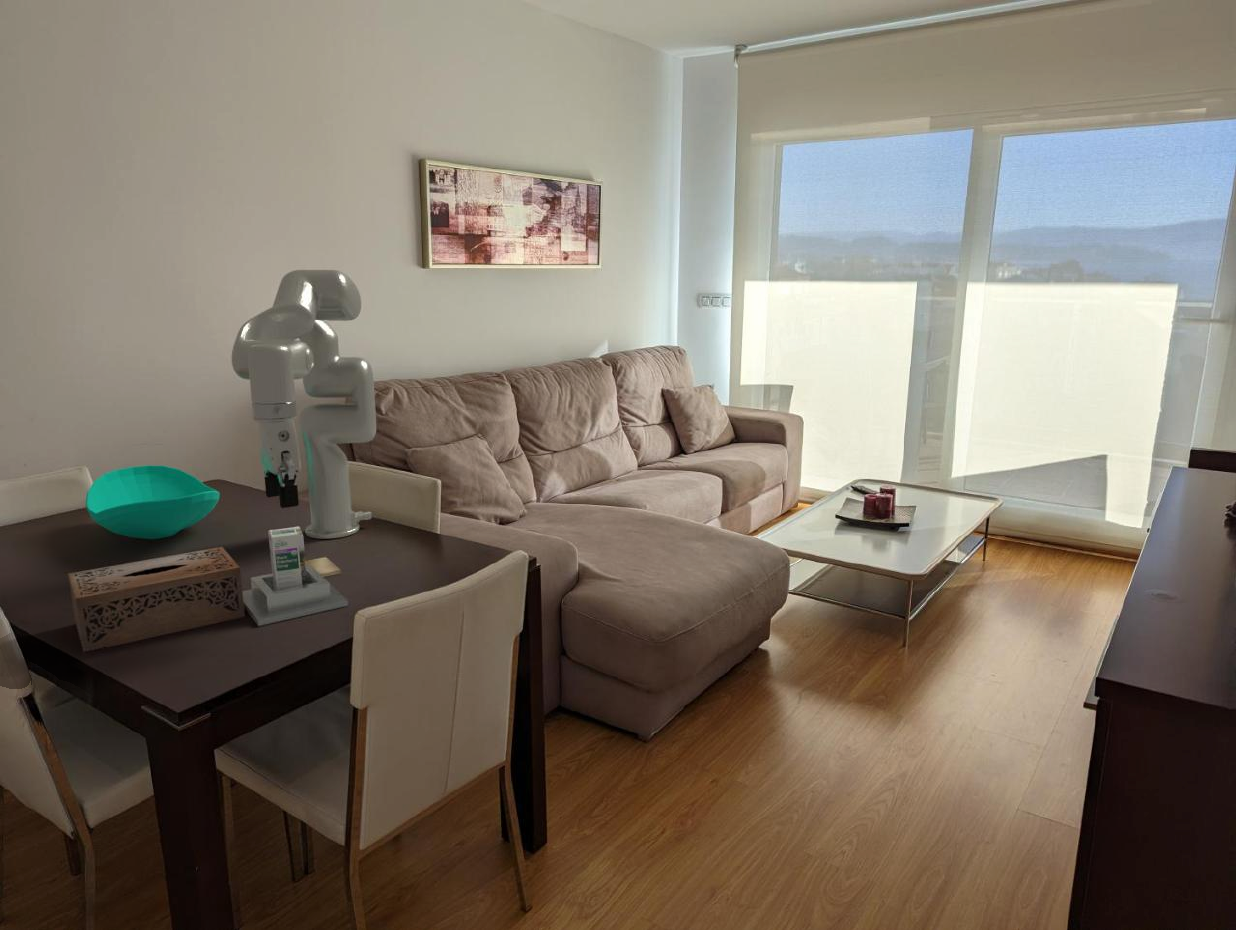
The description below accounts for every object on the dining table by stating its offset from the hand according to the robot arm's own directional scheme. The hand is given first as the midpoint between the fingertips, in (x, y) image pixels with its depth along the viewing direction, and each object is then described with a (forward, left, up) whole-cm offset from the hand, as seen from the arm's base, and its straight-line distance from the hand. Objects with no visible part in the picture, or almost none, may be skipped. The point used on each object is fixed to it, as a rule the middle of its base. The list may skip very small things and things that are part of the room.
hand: (282, 501), depth 161 cm
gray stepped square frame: (0, 0, -21) cm, 21 cm away
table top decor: (+14, -62, -21) cm, 67 cm away
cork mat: (-8, -15, -21) cm, 27 cm away
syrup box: (0, 0, -21) cm, 21 cm away
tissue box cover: (+22, -5, -21) cm, 31 cm away
